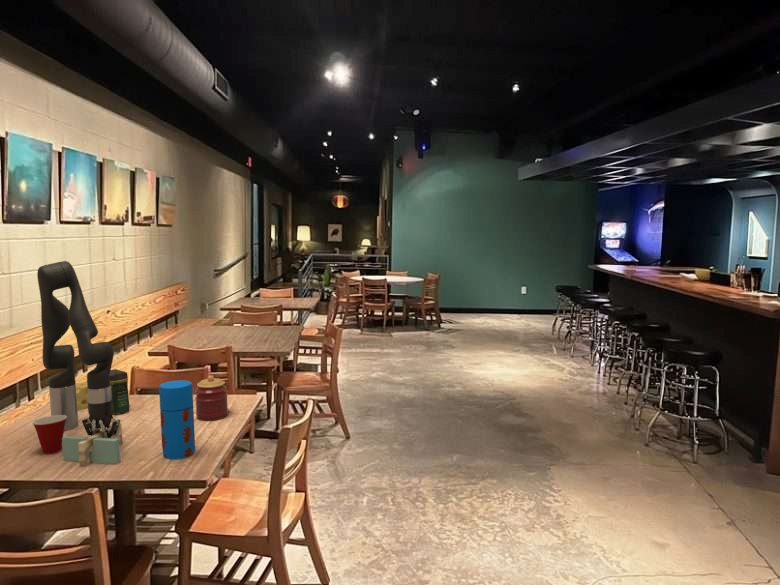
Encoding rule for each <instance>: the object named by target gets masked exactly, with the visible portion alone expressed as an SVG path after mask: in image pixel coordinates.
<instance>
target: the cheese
mask: <svg viewBox="0 0 780 585" xmlns="http://www.w3.org/2000/svg"><path fill="white" fill-rule="evenodd" d="M87 391H88V387H87V381H83V382H79V383H76V396H77V410H78V411H81V410H84V409H88V399H87Z"/></svg>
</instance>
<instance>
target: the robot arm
mask: <svg viewBox="0 0 780 585" xmlns="http://www.w3.org/2000/svg"><path fill="white" fill-rule="evenodd" d="M36 275H37V284H38V291H39V295H40V307H41V309H40V310H41V311H40V315H41V318H40V321H41V328H42V330H41V331H42V365H43V367H44V369H46V370H52V371H53V370H60V369H65V370H64V371H62V372H61V373H59V374H58V375H55V376H53V377H51V378H50V379H48V390H49V392H48V393H49V403H50V405H49V406H50V416H56V415H65V416H67V419H66V421H65V426H64V431H68V430H72V429H74V428H77V427H78V426H79V413H78V412H79V410H77V396H76V384H77V383H76V374H75V372H76V371H75V367H76V365H75V364H76V363H75V362H76V361H75V358H76V357H75V355H76V354H75V350H74V346H73V345H72V344H61V345H56V344H57V342H59V340H61V338H63V337H64V335H65V334H66V333H67V332H68V330H69V329H70V327H71V329H72V332H73V334H74V336H75V338H76V344H77V350H78V356H79V359H80V361H81V362H82V363H83V364H84V365H87V366H92V365H96V366H95V367H94V368H93V369H91V370H89V371H88V372H87V374H86V382H87V387H88V391H87V399H88V408H87V411H88V417H86V418H84V419H82V420H81V423H82V425H83V427H84V430H85V432H86V434H87V436H89V437H91V436H93V435H94V434H96V433H98V432H100V431H102V432H103V433H104V437H105V438H111V437H112V436H113V435H115V434H116V433H117V430H118V427H119V424H120V423H121V419H116V418H114V416H113V414H112V394H111V388H110V376H109V374H110V370H112V364H113V360H114V357H115V356H114V354H115V353H114V349H113V348H114V347H113V346H112V344H111V343H110V342H107V341H100V342H95V343H92V341H91V340H92V339H94V338H96V336H98V333H99V330H98V327H97V325H96V324H95V321H94V319H93V318H92V316H91V313H90V311H89V309H88V306H87V304H86V300H85V297H84V292H83V291H82V288H81V284H80V282H79V279H78V276H77V273H76V271H75V269H74V267H73V265H72V264H71V263H70V262H69V261H67V260H63V261H58V262H53V263H49V264H44V265H42V266H39V267H38V268H37V272H36ZM65 288H69V290H70V295H71V298H70V304H69V308H68V307H67V305H66V304H64V303H63V302H62V301H61V300H59V299H58V298H57V297H56V296H54V294H53V293H54V291H56V290H61V289H65ZM111 426H112V427H111Z"/></svg>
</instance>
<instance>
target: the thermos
mask: <svg viewBox="0 0 780 585" xmlns="http://www.w3.org/2000/svg"><path fill="white" fill-rule="evenodd" d="M158 394H159V410H160V411H159V412H160V415H159V416H160V430H161V432H160V433H161V447H162V457H163V458H164V459H167V460H181V459H186V458H188V457H191V456H192V455H194V454H195V451H196V450H195V449H196V448H195V446H196V442H195V441H196V440H195V439H196V438H195V416H194V414H195V413H194V394H193V384H192V381H189V380H184V379H183V380H181V379H179V380H171V381H166V382H163V383H161V384H160V385H159V389H158Z"/></svg>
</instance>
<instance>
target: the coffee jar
mask: <svg viewBox="0 0 780 585" xmlns="http://www.w3.org/2000/svg"><path fill="white" fill-rule="evenodd" d="M109 376H110V388H111V394H112V415H124V414H126V413H129V411H130V399H129V385H128V383H129V376H128V372H126V371H123V370H119V369H117V368H116V369H115V368H114V369H111V370H110V374H109Z"/></svg>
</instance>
